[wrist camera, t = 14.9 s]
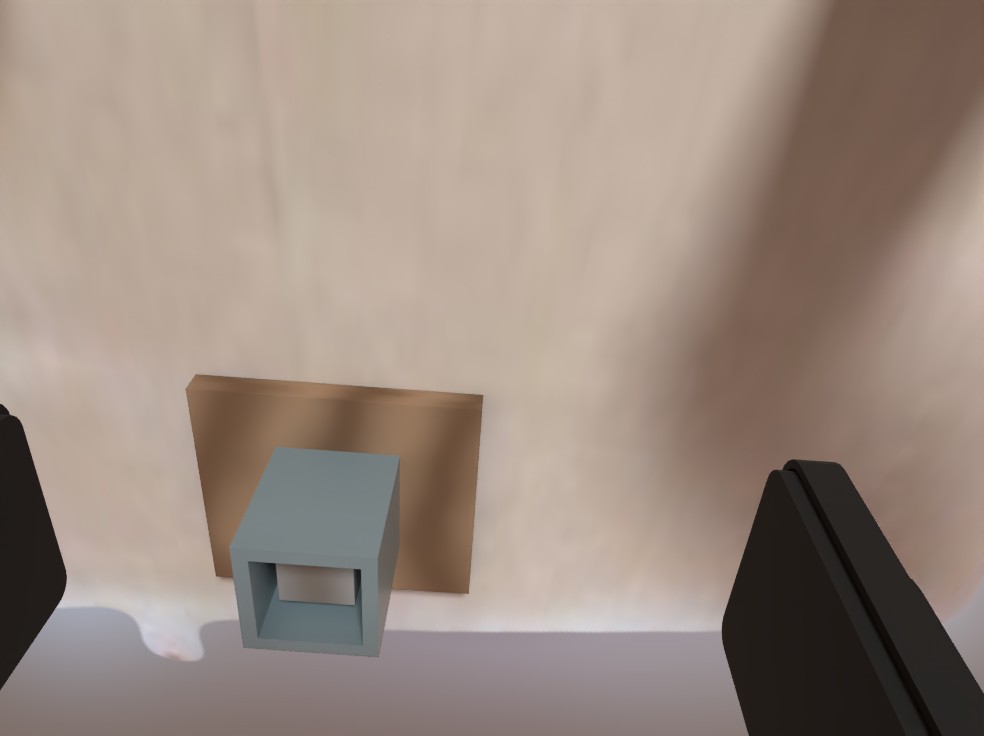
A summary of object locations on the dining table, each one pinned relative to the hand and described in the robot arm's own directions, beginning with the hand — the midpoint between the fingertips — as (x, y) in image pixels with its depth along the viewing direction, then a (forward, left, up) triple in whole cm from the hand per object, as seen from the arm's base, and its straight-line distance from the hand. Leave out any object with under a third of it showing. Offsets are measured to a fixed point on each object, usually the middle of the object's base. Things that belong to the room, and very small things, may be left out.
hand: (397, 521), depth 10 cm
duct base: (+7, +23, -28) cm, 37 cm away
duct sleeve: (+7, +23, -27) cm, 36 cm away
